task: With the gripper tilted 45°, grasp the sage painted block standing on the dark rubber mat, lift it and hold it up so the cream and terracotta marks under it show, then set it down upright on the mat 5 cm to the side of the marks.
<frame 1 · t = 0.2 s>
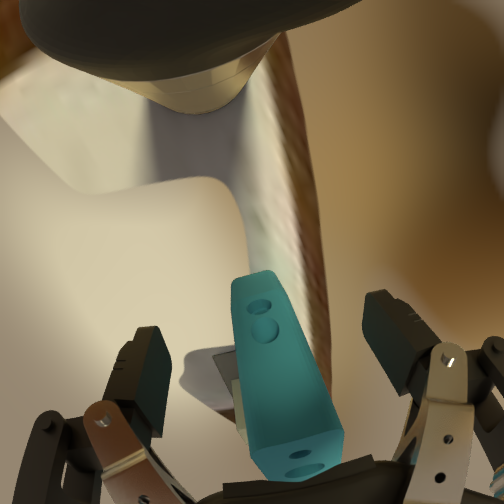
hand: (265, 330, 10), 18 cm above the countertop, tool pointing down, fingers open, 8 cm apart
block: (259, 304, 32), on the countertop
sage block: (252, 386, 38), resting on marker mat
marker mat: (263, 371, 37), on the countertop
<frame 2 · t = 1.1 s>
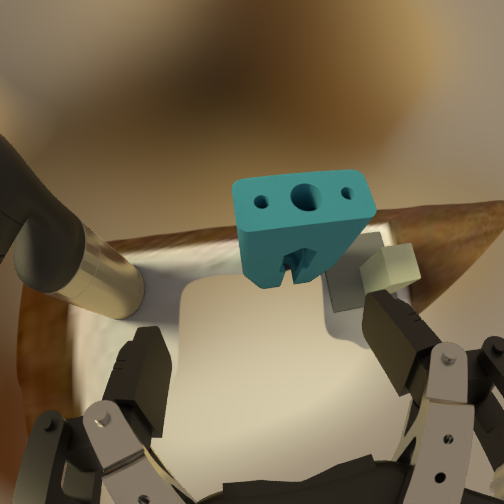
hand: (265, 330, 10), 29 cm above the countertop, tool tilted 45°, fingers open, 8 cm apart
block: (283, 269, 41), on the countertop
sage block: (376, 280, 40), resting on marker mat
marker mat: (359, 269, 41), on the countertop
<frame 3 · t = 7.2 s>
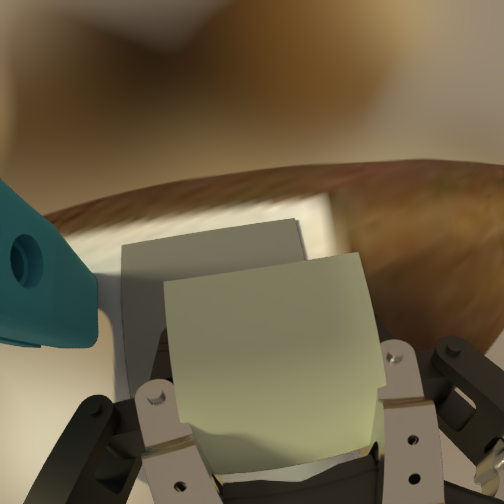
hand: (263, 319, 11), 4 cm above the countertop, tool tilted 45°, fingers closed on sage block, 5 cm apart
block: (52, 312, 15), on the countertop
sage block: (267, 362, 14), resting on marker mat, touching gripper
marker mat: (215, 328, 15), on the countertop
when the fingers open (5 cm above the countertop, at t = 15.1 s): sage block drops 1 cm, resting on marker mat.
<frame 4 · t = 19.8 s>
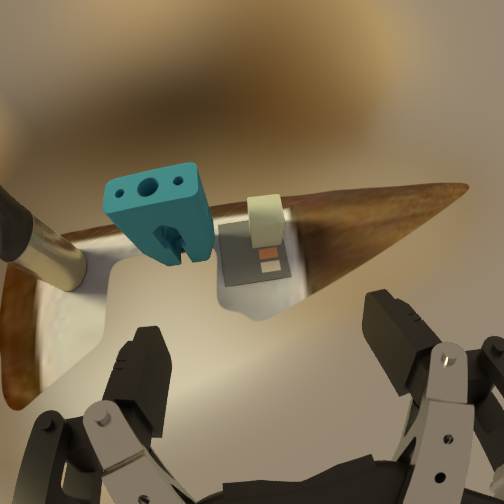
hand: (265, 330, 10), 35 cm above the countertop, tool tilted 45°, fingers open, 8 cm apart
block: (186, 250, 49), on the countertop
sage block: (264, 233, 49), resting on marker mat
marker mat: (252, 250, 49), on the countertop
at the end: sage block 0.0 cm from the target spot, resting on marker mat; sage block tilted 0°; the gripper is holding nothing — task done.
